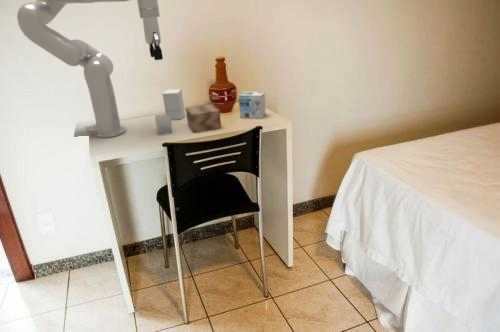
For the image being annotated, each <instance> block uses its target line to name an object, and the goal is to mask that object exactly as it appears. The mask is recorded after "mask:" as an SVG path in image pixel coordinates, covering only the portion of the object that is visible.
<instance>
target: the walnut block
mask: <svg viewBox="0 0 500 332" xmlns="http://www.w3.org/2000/svg"><path fill="white" fill-rule="evenodd" d="M220 111H221V110H220V109H218V108H217V107H216V106H215V105H214V104H213V103H210V104H203V105H195V106H188V107H185V114H186V118H187V126H188V127H189V129H190V130H191V132H192V133H202V132H209V131H215V130H219V129H222V123H221V122H222V120H221V112H220Z"/></svg>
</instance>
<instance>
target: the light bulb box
mask: <svg viewBox="0 0 500 332" xmlns="http://www.w3.org/2000/svg"><path fill="white" fill-rule="evenodd" d="M265 95H266V93H265V91H242V92H240V93H239V94H238V103H239V104H238V106H239V107H238V108H239V118H240V119H241V118H242V119H243V118H244V119H257V120H258V119H263V118H264V116H266V98H265V97H266V96H265Z"/></svg>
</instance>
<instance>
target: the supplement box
mask: <svg viewBox="0 0 500 332" xmlns="http://www.w3.org/2000/svg"><path fill="white" fill-rule="evenodd" d="M162 98H163V103H164V104H163V105H164V112H165V114H169V116H170V119H171V121H173V120H182V119H183V118H184V117H185V116H186V111H185V107H184V106H185V105H184V98H183V90H182V89H181V88H180V89H179V88H177V89H166V90H165V91H164V92H163V93H162Z"/></svg>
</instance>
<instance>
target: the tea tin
mask: <svg viewBox="0 0 500 332" xmlns="http://www.w3.org/2000/svg"><path fill="white" fill-rule="evenodd" d="M154 119H155V125H156V131H157V134H158V135H159V136H162V135H168V134H173V128H172V120H171V119H170V116H169V114H166V113H165V114H164V113H163V114H157V115H154Z"/></svg>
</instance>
